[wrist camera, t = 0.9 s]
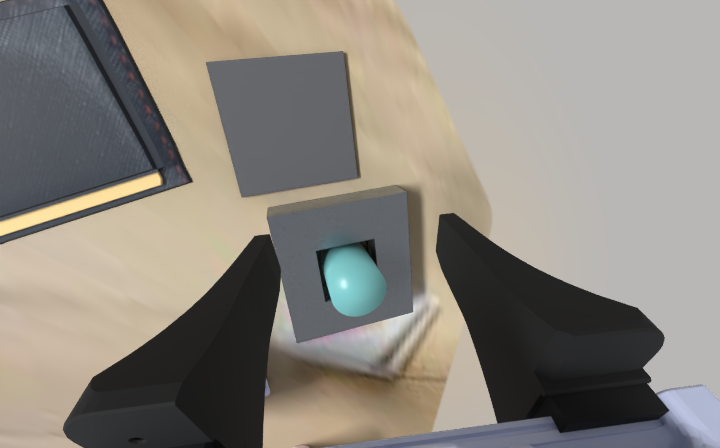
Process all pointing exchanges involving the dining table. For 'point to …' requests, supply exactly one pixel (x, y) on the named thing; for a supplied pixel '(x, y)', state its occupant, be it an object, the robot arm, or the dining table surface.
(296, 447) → the smoothie
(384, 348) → the dining table surface
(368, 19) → the dining table surface
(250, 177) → the mat
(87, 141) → the grey book
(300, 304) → the housing
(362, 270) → the end cap
